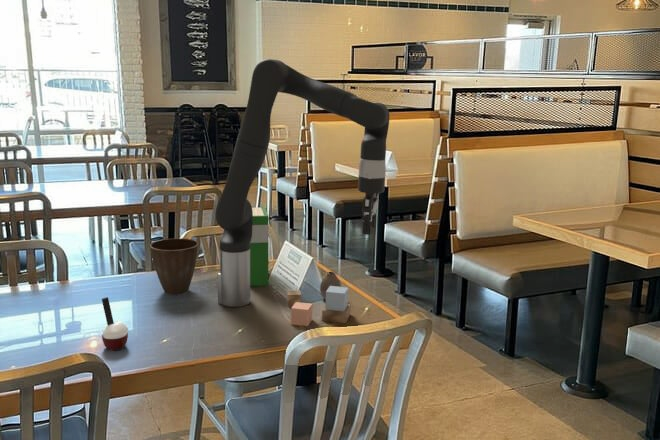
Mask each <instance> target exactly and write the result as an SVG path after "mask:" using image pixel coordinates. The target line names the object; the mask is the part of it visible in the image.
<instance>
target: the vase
mask: <svg viewBox="0 0 660 440" xmlns="http://www.w3.org/2000/svg"><path fill="white" fill-rule="evenodd" d="M330 286H338V287H343V286H342V283H341V280H340V279H339V278H338V276H337V274H336V273H335V271H328V272H327V273H326V275H325V276H324V277H323V278H322V280H321V282H320V285H319V292H320V295H321V297H322V298H323V299H324V301H326V291H327V289H328V288H329V287H330Z"/></svg>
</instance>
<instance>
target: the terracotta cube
mask: <svg viewBox="0 0 660 440" xmlns="http://www.w3.org/2000/svg"><path fill="white" fill-rule="evenodd" d="M290 312H291V313H290V324H291V325H293V326H294V325H296V326H301V327H302V326H305V327H308V326H309V325H310V324H311V322H312V321H313V303H309V302H301V303H300V302H296V303H295V304H294V305H293V306H292V307H290Z"/></svg>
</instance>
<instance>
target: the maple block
mask: <svg viewBox="0 0 660 440" xmlns="http://www.w3.org/2000/svg"><path fill="white" fill-rule="evenodd" d="M301 299H302V293H301V290H300V289H296V290H295V289H294V290H293V289H292V290H286V305H287V308H292V306H293V305H294V304H295V303H296V302H300V303H302V302H301V301H302V300H301Z"/></svg>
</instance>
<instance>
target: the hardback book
mask: <svg viewBox="0 0 660 440" xmlns="http://www.w3.org/2000/svg"><path fill="white" fill-rule="evenodd" d="M252 211H253V227H252V239H251V242H250V287H253V286H254V287H257V286H258V287H259V286H269V214H268V211H267V209H266V207H265V205H263V204H261V205H260V207H252Z"/></svg>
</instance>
